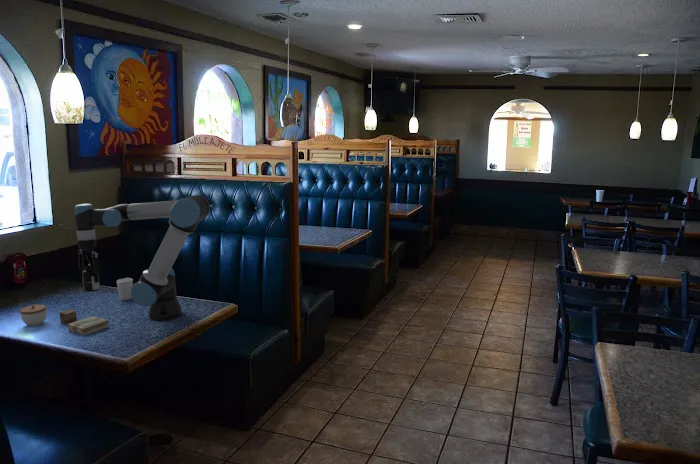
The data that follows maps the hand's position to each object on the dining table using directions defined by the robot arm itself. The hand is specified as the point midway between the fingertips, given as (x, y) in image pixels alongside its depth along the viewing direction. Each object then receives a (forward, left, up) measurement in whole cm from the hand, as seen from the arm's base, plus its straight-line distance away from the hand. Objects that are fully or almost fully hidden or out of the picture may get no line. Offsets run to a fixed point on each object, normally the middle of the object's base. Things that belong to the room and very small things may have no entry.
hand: (91, 287), depth 256 cm
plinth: (-2, +5, -18) cm, 18 cm away
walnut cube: (+15, +4, -18) cm, 23 cm away
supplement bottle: (0, 0, -1) cm, 1 cm away
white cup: (+21, -32, -18) cm, 42 cm away
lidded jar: (+26, +14, -18) cm, 34 cm away
